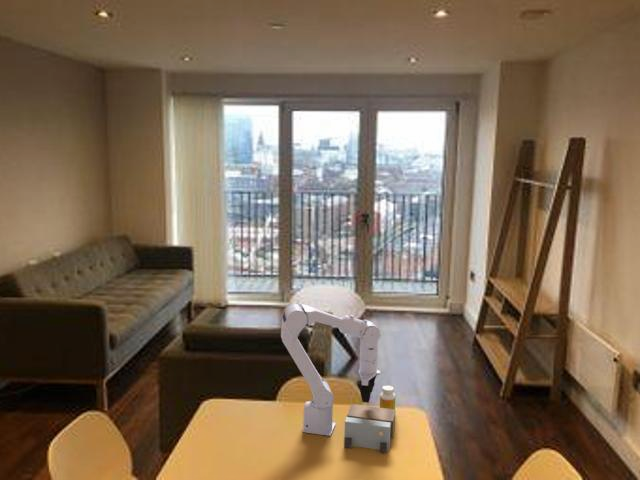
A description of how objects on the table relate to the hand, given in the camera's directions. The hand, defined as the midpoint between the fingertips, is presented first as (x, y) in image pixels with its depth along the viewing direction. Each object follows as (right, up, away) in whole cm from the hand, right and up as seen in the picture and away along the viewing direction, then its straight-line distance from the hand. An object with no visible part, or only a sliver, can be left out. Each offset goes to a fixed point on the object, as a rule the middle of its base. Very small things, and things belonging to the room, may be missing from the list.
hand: (367, 396), depth 183 cm
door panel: (-1, -13, -10) cm, 16 cm away
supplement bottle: (+8, -9, +10) cm, 16 cm away
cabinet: (0, -12, -5) cm, 13 cm away
